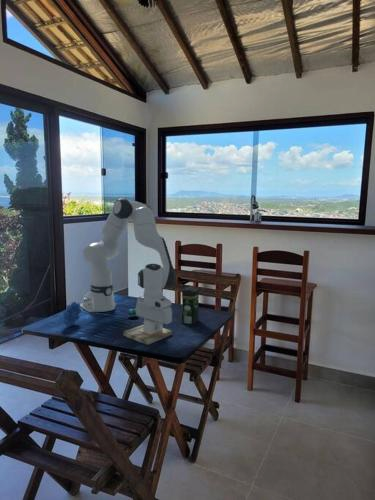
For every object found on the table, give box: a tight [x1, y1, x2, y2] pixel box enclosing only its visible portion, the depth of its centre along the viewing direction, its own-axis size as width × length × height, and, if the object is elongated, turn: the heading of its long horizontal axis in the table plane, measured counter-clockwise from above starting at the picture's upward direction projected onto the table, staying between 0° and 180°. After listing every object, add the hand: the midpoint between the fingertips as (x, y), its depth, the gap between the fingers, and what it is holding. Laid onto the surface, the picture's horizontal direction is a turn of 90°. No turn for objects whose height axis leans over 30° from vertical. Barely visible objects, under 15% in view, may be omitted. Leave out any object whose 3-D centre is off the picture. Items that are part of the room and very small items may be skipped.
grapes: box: [62, 301, 82, 328], centre depth 178 cm, size 12×7×12 cm, turn 153°
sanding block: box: [143, 319, 164, 336], centre depth 165 cm, size 4×8×6 cm, turn 141°
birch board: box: [122, 324, 173, 345], centre depth 168 cm, size 16×16×2 cm
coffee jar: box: [181, 285, 200, 325], centre depth 187 cm, size 10×8×19 cm
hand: (153, 328), depth 165 cm, fingers closed on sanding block, 4 cm apart
